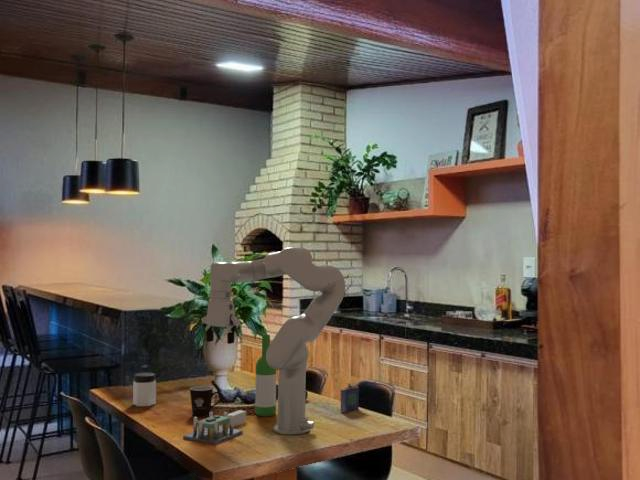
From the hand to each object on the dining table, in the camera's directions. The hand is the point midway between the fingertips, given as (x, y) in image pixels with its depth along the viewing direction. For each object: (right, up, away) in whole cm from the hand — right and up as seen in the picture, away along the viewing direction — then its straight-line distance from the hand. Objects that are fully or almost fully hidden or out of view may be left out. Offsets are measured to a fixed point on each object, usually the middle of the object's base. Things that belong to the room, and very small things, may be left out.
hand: (220, 342), depth 236 cm
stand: (+7, -28, -7) cm, 30 cm away
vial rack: (+1, -28, -21) cm, 35 cm away
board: (+1, -24, -21) cm, 32 cm away
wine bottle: (+16, -29, +7) cm, 34 cm away
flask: (+48, -29, +13) cm, 58 cm away
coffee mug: (-7, -29, +6) cm, 30 cm away
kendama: (+23, -30, +36) cm, 52 cm away
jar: (-34, -29, +23) cm, 50 cm away
